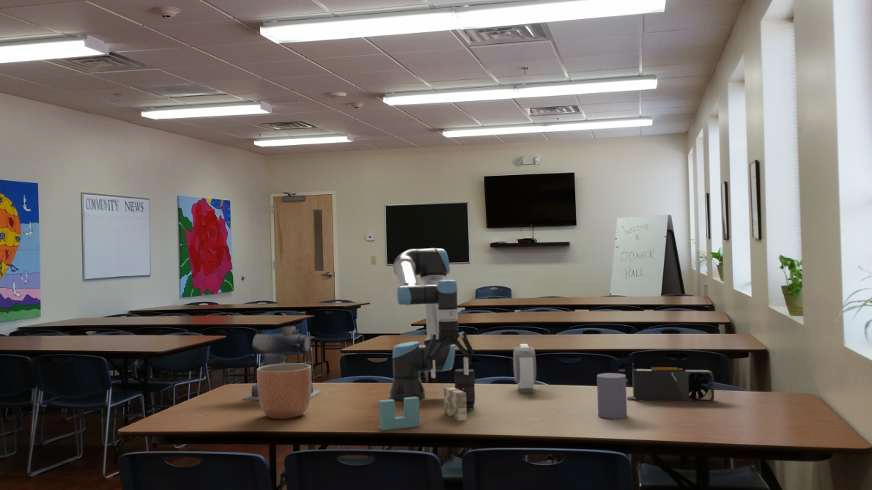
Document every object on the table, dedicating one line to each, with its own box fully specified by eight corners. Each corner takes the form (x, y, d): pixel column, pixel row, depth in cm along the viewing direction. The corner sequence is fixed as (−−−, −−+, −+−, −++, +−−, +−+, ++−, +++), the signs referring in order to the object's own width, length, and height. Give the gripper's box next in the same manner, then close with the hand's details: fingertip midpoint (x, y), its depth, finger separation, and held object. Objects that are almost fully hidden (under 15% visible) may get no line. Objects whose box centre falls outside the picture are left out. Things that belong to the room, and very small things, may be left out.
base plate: (382, 430, 263) (381, 402, 263) (379, 428, 266) (379, 400, 266) (419, 425, 268) (419, 398, 268) (416, 424, 271) (416, 396, 271)
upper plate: (444, 413, 287) (443, 387, 287) (452, 412, 289) (451, 386, 289) (458, 420, 274) (458, 393, 274) (466, 419, 276) (466, 392, 276)
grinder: (258, 391, 345) (256, 325, 345) (322, 392, 339) (320, 324, 340) (240, 399, 327) (238, 329, 327) (308, 400, 321) (306, 328, 321)
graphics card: (627, 400, 301) (626, 365, 301) (627, 398, 306) (626, 363, 306) (714, 403, 293) (713, 367, 293) (713, 401, 297) (712, 365, 297)
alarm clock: (537, 393, 320) (535, 346, 320) (517, 394, 320) (516, 347, 320) (532, 386, 338) (531, 341, 338) (513, 386, 338) (512, 342, 338)
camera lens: (474, 410, 292) (472, 371, 292) (453, 409, 293) (452, 371, 293) (477, 405, 300) (475, 368, 300) (457, 405, 301) (456, 368, 301)
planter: (253, 414, 297) (252, 366, 297) (305, 408, 305) (304, 361, 305) (263, 424, 278) (262, 373, 278) (318, 418, 286) (316, 368, 286)
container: (610, 420, 268) (609, 378, 268) (592, 415, 277) (591, 375, 277) (633, 417, 273) (631, 375, 273) (613, 412, 282) (612, 372, 282)
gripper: (420, 323, 278) (422, 380, 278) (482, 319, 287) (483, 374, 287) (414, 321, 285) (415, 377, 285) (474, 317, 294) (475, 371, 294)
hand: (449, 376), depth 286 cm, fingers open, 13 cm apart
